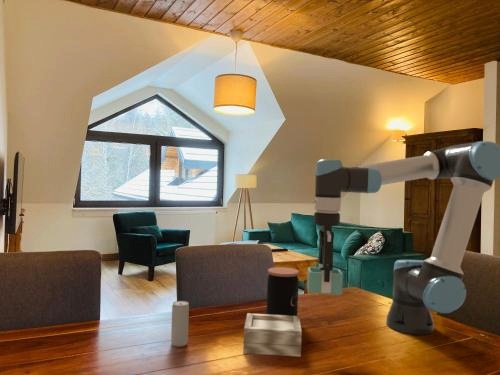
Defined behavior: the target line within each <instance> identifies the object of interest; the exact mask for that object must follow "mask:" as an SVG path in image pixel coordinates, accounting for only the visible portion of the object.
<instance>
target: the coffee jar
mask: <svg viewBox="0 0 500 375" xmlns="http://www.w3.org/2000/svg"><path fill="white" fill-rule="evenodd" d="M267 274H268V276H267V283H266V284H267V285H266V288H267V289H266V310H265V311H266V313H265V314H270V315H288V316H298V308H299V307H298V304H299V281H300V280H299V277H298V275H299V274H300V270H298V269H296V268H292V267H285V266H284V267H283V266H282V267H281V266H279V267H269V268H268V269H267Z"/></svg>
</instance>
